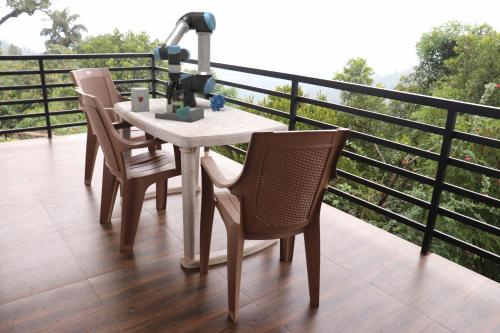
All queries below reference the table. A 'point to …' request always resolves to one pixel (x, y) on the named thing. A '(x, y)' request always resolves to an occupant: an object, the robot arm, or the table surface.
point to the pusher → (183, 111)
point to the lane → (191, 117)
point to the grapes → (217, 102)
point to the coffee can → (176, 101)
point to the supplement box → (140, 99)
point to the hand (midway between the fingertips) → (175, 108)
